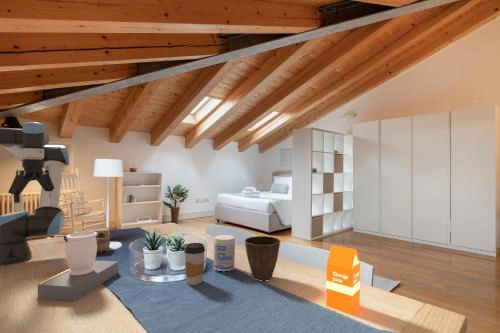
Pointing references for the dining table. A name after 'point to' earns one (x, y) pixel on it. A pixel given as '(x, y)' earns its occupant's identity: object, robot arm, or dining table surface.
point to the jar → (81, 252)
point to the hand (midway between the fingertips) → (33, 208)
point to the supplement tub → (224, 252)
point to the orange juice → (343, 279)
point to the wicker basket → (101, 239)
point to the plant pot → (262, 256)
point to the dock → (76, 282)
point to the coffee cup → (194, 263)
